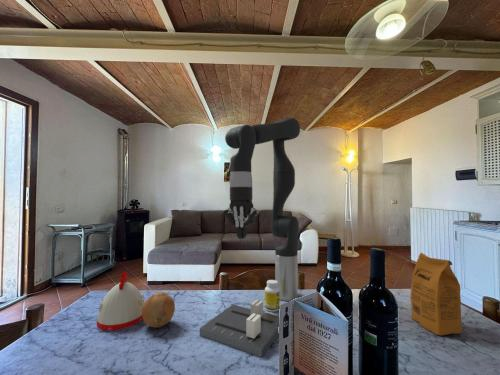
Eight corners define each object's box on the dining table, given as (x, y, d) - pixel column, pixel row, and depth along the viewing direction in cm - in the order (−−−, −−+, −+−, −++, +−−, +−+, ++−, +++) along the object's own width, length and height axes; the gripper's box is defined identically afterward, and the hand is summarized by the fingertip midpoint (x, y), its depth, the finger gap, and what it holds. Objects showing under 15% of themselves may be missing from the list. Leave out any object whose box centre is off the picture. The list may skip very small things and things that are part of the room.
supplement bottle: (278, 313, 82) (278, 284, 82) (263, 311, 83) (263, 283, 83) (280, 306, 87) (280, 279, 87) (265, 304, 88) (265, 278, 89)
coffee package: (433, 316, 80) (431, 251, 81) (469, 337, 67) (465, 260, 69) (405, 316, 80) (403, 251, 81) (435, 337, 67) (432, 260, 68)
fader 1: (256, 313, 76) (256, 299, 77) (263, 314, 75) (263, 300, 75) (250, 318, 73) (250, 303, 73) (257, 320, 72) (257, 305, 72)
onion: (169, 314, 80) (170, 285, 80) (178, 327, 72) (179, 294, 72) (138, 323, 74) (139, 291, 75) (145, 338, 66) (146, 302, 67)
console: (232, 310, 83) (232, 304, 83) (285, 324, 74) (285, 317, 74) (199, 335, 68) (199, 327, 68) (261, 357, 58) (261, 348, 58)
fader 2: (252, 329, 67) (252, 312, 67) (260, 331, 66) (260, 314, 66) (246, 336, 63) (246, 319, 63) (254, 338, 62) (254, 321, 62)
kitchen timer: (146, 307, 85) (148, 266, 86) (141, 326, 72) (143, 277, 73) (103, 312, 81) (105, 269, 82) (90, 333, 68) (92, 281, 69)
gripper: (263, 185, 77) (264, 238, 76) (230, 187, 83) (230, 235, 83) (253, 185, 70) (254, 242, 70) (218, 186, 77) (218, 238, 76)
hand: (241, 238), depth 76 cm, fingers closed
